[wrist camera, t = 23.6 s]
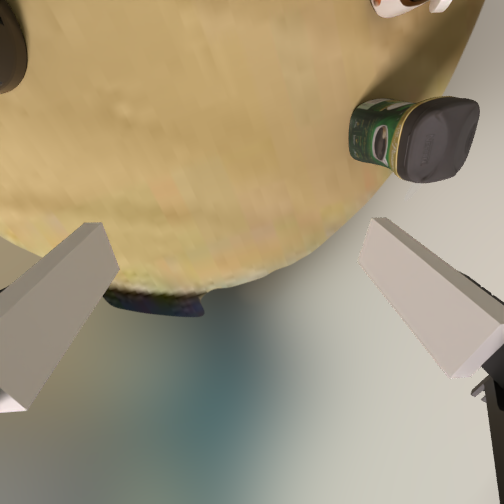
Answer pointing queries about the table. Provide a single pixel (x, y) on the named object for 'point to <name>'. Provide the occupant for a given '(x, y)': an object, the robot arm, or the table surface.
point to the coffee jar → (415, 136)
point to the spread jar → (406, 6)
